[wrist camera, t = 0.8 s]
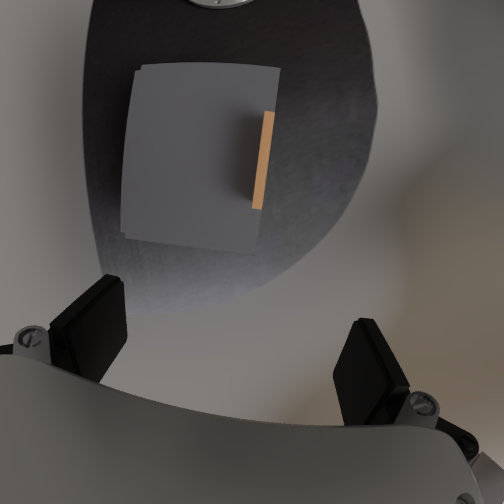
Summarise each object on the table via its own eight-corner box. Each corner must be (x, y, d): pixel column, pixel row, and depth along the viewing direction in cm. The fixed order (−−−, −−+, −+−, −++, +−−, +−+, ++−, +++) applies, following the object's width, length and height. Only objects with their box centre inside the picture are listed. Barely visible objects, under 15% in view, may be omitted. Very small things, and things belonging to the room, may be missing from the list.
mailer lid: (144, 70, 24) (121, 55, 18) (279, 74, 24) (282, 55, 18) (129, 232, 30) (104, 247, 24) (255, 249, 30) (253, 269, 24)
